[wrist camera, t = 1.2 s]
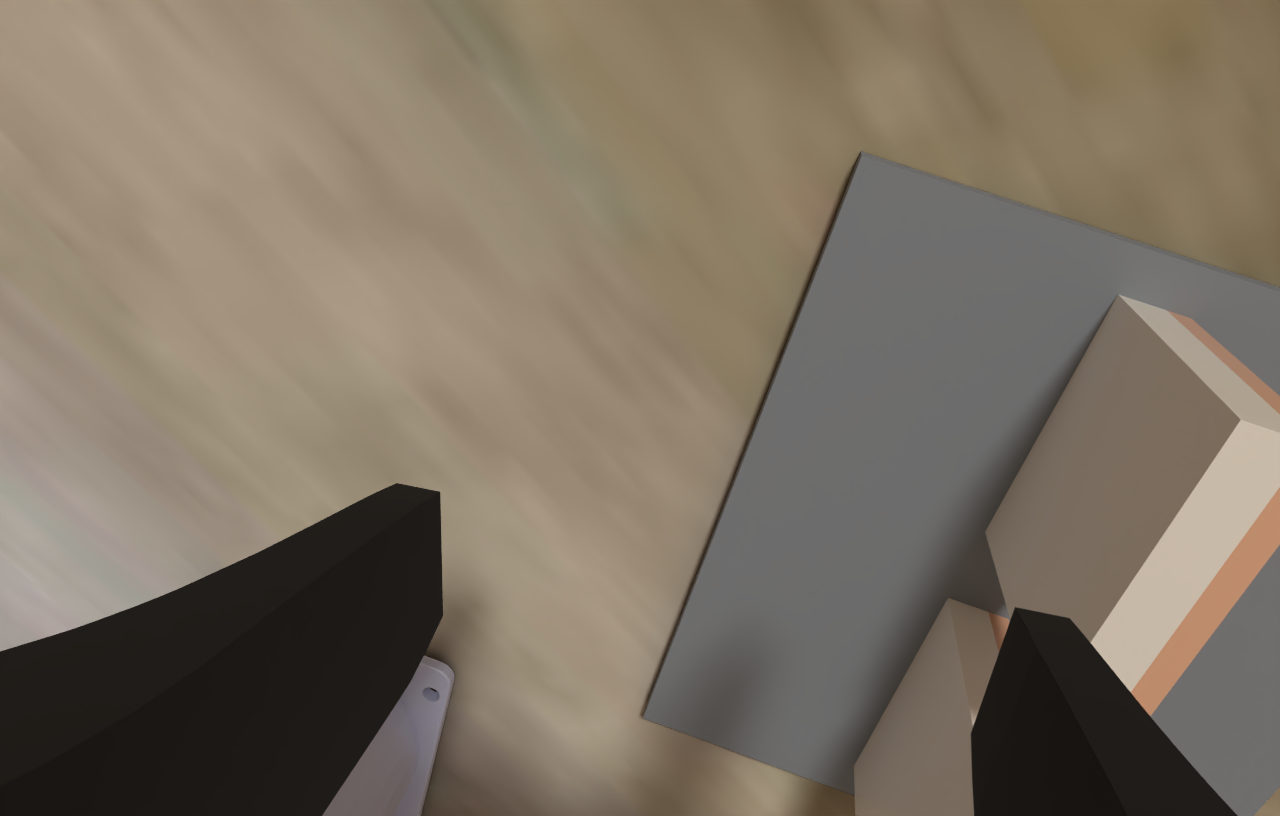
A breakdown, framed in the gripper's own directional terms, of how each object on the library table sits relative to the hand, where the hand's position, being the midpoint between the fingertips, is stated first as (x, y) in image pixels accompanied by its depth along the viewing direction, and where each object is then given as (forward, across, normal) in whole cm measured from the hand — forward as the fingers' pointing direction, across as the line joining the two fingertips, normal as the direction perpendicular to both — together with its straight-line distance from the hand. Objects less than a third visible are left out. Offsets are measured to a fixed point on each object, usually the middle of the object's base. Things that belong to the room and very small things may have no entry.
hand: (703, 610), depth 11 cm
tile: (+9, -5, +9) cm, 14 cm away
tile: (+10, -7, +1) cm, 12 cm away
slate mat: (+10, -7, +5) cm, 13 cm away
